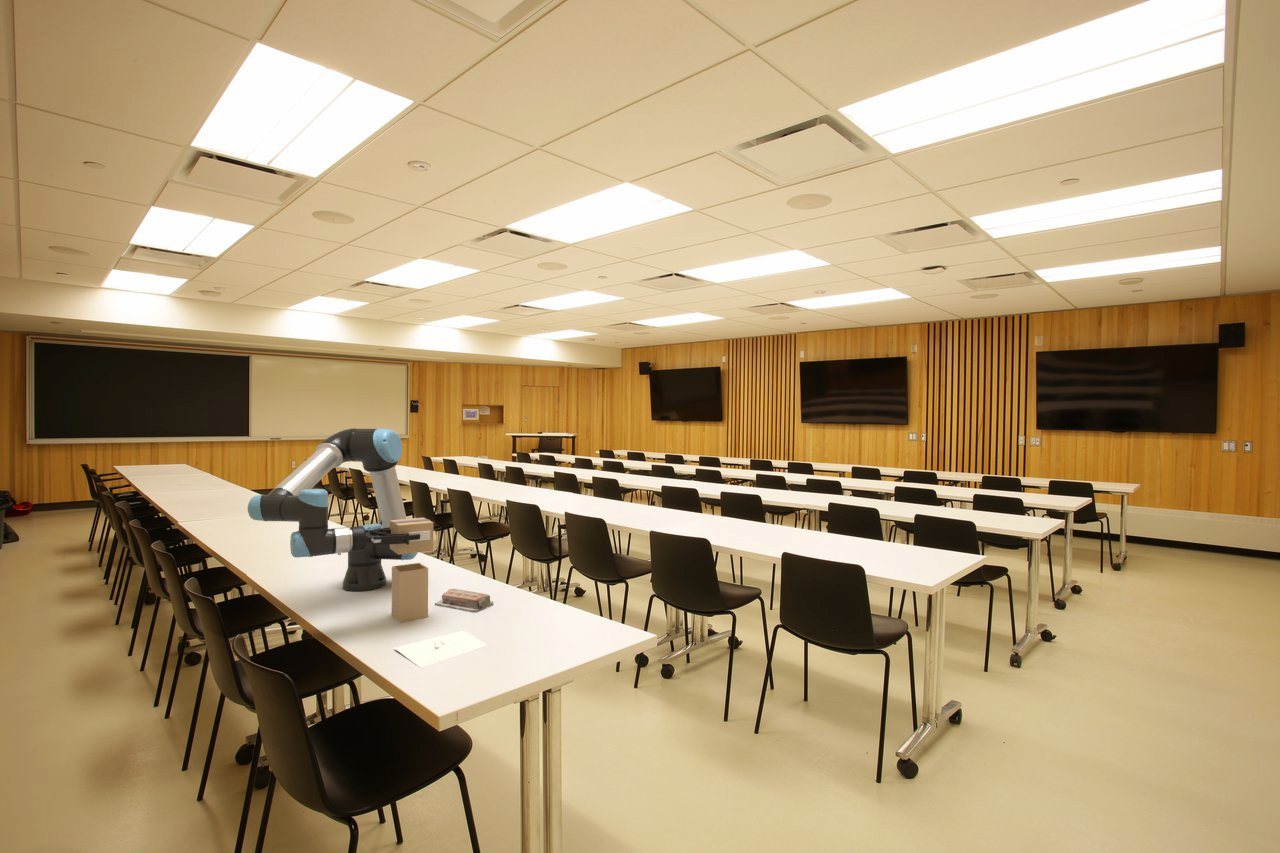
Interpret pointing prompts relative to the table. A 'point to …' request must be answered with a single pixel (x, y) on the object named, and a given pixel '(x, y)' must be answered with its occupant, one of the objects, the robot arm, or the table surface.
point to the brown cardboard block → (407, 527)
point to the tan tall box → (409, 592)
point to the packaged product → (465, 600)
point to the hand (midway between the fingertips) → (424, 532)
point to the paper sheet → (439, 648)
